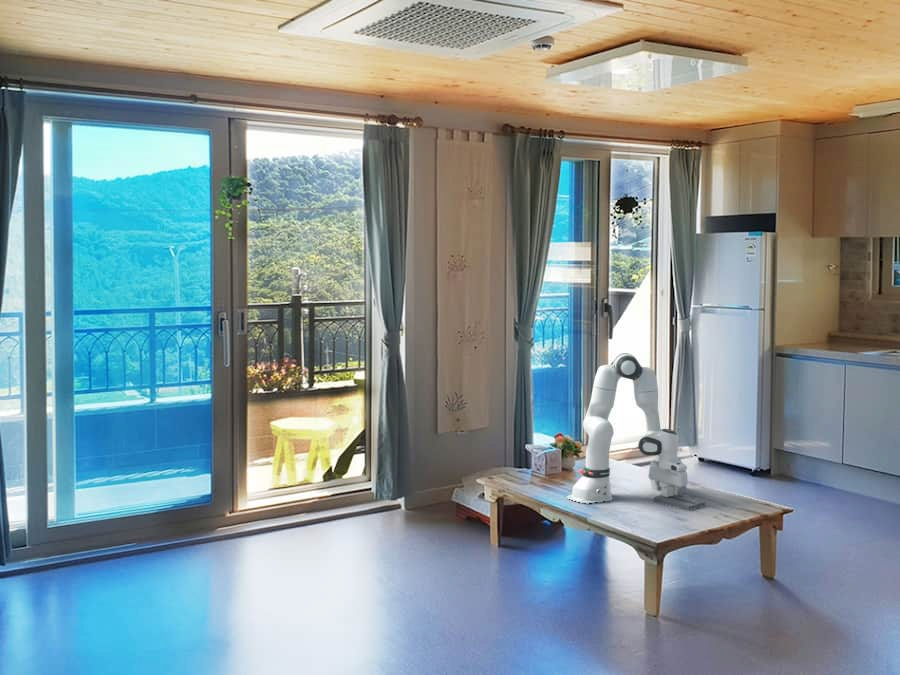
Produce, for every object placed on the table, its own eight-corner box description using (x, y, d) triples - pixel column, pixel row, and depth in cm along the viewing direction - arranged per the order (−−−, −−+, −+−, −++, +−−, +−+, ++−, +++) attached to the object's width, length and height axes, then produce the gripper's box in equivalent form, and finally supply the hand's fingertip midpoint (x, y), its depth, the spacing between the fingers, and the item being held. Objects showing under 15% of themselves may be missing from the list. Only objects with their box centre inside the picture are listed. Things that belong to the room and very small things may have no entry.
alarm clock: (686, 499, 415) (687, 458, 414) (672, 500, 413) (674, 459, 411) (662, 487, 436) (663, 449, 434) (649, 489, 433) (650, 450, 431)
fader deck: (688, 510, 394) (688, 506, 394) (653, 501, 410) (653, 496, 410) (704, 506, 402) (704, 501, 402) (669, 496, 417) (669, 492, 417)
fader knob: (666, 499, 408) (666, 488, 408) (661, 498, 410) (661, 487, 410) (673, 497, 411) (673, 486, 411) (668, 496, 414) (668, 485, 413)
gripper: (646, 460, 415) (645, 488, 417) (681, 468, 399) (680, 498, 400) (654, 458, 419) (653, 486, 420) (689, 466, 403) (688, 496, 404)
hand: (667, 492), depth 410 cm, fingers open, 8 cm apart
